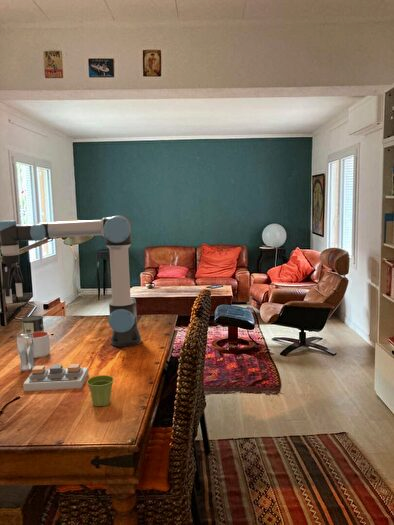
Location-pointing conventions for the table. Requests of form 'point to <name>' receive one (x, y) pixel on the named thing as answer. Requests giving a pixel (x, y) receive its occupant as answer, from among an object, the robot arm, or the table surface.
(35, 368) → the key
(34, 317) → the coffee can
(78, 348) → the table surface
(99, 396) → the plant pot
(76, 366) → the key
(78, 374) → the console
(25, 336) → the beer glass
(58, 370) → the key middle
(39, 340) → the cup
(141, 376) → the table surface
